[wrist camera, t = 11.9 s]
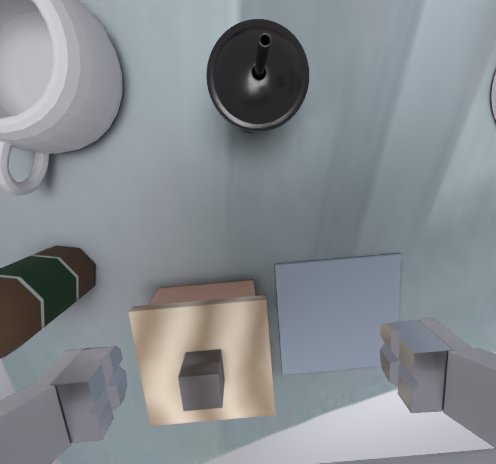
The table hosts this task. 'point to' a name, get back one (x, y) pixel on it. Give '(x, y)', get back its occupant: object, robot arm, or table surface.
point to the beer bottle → (40, 292)
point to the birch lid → (204, 359)
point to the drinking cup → (257, 75)
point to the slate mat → (335, 311)
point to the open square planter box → (203, 292)
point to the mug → (53, 83)
